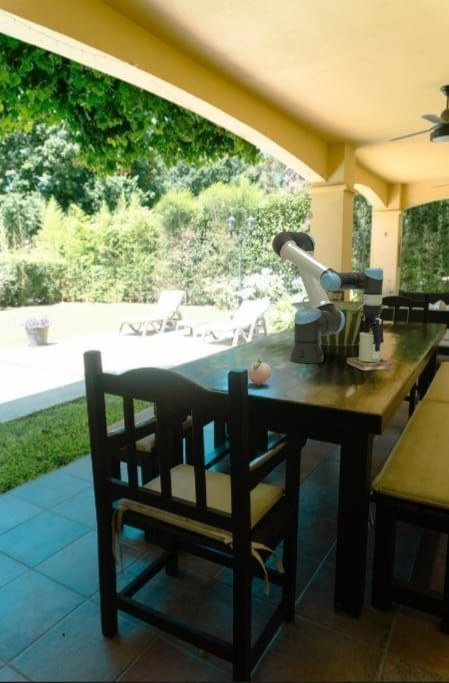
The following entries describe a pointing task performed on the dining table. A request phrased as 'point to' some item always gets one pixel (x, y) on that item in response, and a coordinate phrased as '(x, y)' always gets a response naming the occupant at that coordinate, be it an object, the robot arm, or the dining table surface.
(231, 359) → the dining table surface
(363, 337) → the can
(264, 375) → the decorative fruit
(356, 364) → the coaster board
